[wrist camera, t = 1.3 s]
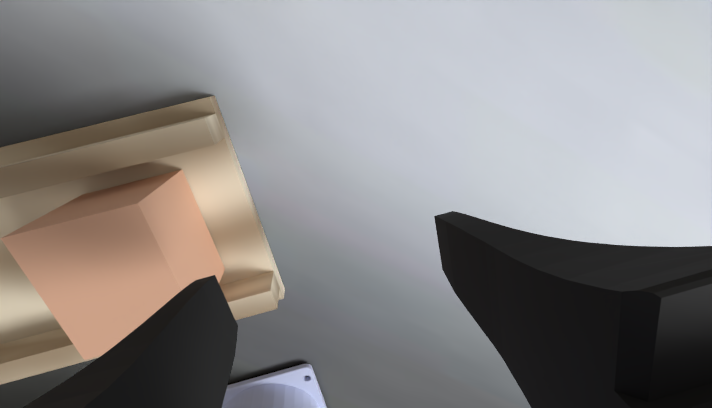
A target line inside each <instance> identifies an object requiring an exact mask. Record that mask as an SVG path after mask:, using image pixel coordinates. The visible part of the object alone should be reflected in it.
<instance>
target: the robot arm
mask: <svg viewBox="0 0 712 408" xmlns="http://www.w3.org/2000/svg"><path fill="white" fill-rule="evenodd" d="M434 217H435V223H436V230H437V236H438V243H439V249H440V256H441V262H442V269H443V271H444V273H445V275H446V277H447V279H448V281H449V282H450V284H451V286H452V288H453V290H454V291H455V293H456V295H457V296H458V298H459V299H460V300H461V302H462V303H463V304H464V306H465V307H466V309H467V310H468V311H469V313H470V314H471V315H472V317H473V318H474V319H475V321H476V322H477V323H478V325H479V326H480V327H481V329H482V330H483V332H484V333H485V334H486V336H487V337H488V338H489V340H490V341H491V342H492V344H493V345H494V346H495V348H496V349H497V351H498V352H499V354H500V355H501V357H502V358H503V360H504V361H505V363H506V365H507V366H508V368H509V370H510V371H511V373H512V375H513V377H514V378H515V380H516V382H517V383H518V385H519V387H520V388H521V390H522V392H523V394H524V395H525V397H526V399H527V401H528V402H529V404H530V406H531V408H712V246H700V247H647V246H623V245H610V244H599V243H588V242H580V241H572V240H566V239H560V238H554V237H548V236H543V235H538V234H533V233H529V232H525V231H521V230H517V229H513V228H509V227H505V226H502V225H499V224H495V223H492V222H489V221H485V220H482V219H479V218H476V217H472V216H469V215H466V214H462V213H458V212H453V211H452V212H448V213H445V214H441V215H437V216H434ZM237 329H238V325H237V323H236V321H235V318H234V316H233V314H232V312H231V309H230V307H229V305H228V303H227V300H226V298H225V296H224V294H223V292H222V289H221V287H220V285H219V283H218V280H217V278H216V276H215V275H213V276H209V277H206V278H202V279H198V280H195V281H194V282H192V283H191V284H189V285H188V286H187V287H185V288H184V289H183V290H181V291H180V292H179V293H178V294H177V295H175V296H174V297H173V298H172V299H171V300H169V301H168V302H167V303H166V304H165V305H164V306H162V307H161V308H160V309H159V310H158V311H157V312H155V313H154V314H153V315H152V316H151V317H149V318H148V319H147V320H146V321H145V322H144V323H142V324H141V325H140V326H139V327H137V328H136V329H135V330H134V331H132V332H131V333H130V334H129V335H127V336H126V337H125V338H124V339H122V340H121V341H120V342H119V343H117V344H116V345H115V346H114V347H112V348H111V349H110V350H108V351H107V352H106V353H105V354H103V355H102V356H100V357H99V358H98V359H96V360H95V361H94V362H92V363H91V364H89V365H88V366H86V367H85V368H84V369H82V370H81V371H79V372H78V373H76V374H75V375H74V376H72V377H71V378H69V379H68V380H66V381H65V382H63V383H62V384H60V385H58V386H57V387H55V388H54V389H52V390H50V391H49V392H47V393H46V394H44V395H42V396H41V397H39V398H38V399H36V400H34V401H33V402H31V403H30V404H28V405H26V406H25V407H23V408H327V407H326V404H325V401H324V398H323V396H322V393H321V390H320V387H319V385H318V382H317V379H316V376H315V374H314V371H313V368H312V366H311V365H309V364H301V365H298V366H294V367H291V368H287V369H284V370H280V371H277V372H273V373H269V374H266V375H262V376H259V377H255V378H252V379H248V380H245V381H241V382H238V383H234V384H230V385H228V381H229V377H230V373H231V369H232V365H233V361H234V356H235V349H236V341H237ZM305 376H309V377H305Z"/></svg>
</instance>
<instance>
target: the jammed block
mask: <svg viewBox="0 0 712 408" xmlns="http://www.w3.org/2000/svg"><path fill="white" fill-rule="evenodd" d="M0 239H1V240H2V241H3V243H4V244H5V246H6V247H7V249H8V250H9V252H10V253H11V255H12V256H13V257H14V259H15V260H16V262H17V263H18V265H19V266H20V268H21V269H22V270H23V272H24V273H25V275H26V276H27V278H28V279H29V281H30V282H31V284H32V285H33V286H34V288H35V289H36V291H37V292H38V294H39V295H40V297H41V298H42V300H43V301H44V302H45V304H46V305H47V307H48V308H49V310H50V311H51V313H52V314H53V316H54V317H55V318H56V320H57V321H58V323H59V324H60V326H61V327H62V329H63V330H64V331H65V333H66V334H67V336H68V337H69V339H70V340H71V342H72V343H73V345H74V346H75V347H76V349H77V350H78V352H79V353H80V355H81V356H82V358H83V359H84V360H88V359H91V358H95V357H99V356H102V355H103V354H105V353H106V352H107V351H108V350H110V349H111V348H112V347H114V346H115V345H116V344H117V343H119V342H120V341H121V340H122V339H124V338H125V337H126V336H127V335H129V334H130V333H131V332H132V331H134V330H135V329H136V328H137V327H139V326H140V325H141V324H142V323H144V322H145V321H146V320H147V319H148V318H149V317H151V316H152V315H153V314H154V313H155V312H157V311H158V310H159V309H160V308H161V307H162V306H164V305H165V304H166V303H167V302H168V301H169V300H171V299H172V298H173V297H174V296H175V295H177V294H178V293H179V292H180V291H181V290H183V289H184V288H185V287H187V286H188V285H189V284H191V283H192V282H194V281H195V280H198V279H202V278H206V277H209V276H213V275H215V276H216V278H217V280H218V283H219V282H220V280H221V277H222V275H223V273H224V270H225V268H224V265H223V263H222V261H221V258H220V256H219V254H218V251H217V249H216V247H215V244H214V242H213V240H212V237H211V235H210V233H209V230H208V228H207V226H206V223H205V221H204V219H203V216H202V214H201V212H200V209H199V207H198V205H197V202H196V200H195V198H194V195H193V193H192V191H191V188H190V186H189V184H188V181H187V179H186V177H185V174H184V172H183V170H178V171H174V172H170V173H166V174H162V175H158V176H154V177H150V178H146V179H142V180H138V181H134V182H130V183H126V184H122V185H118V186H114V187H110V188H106V189H102V190H98V191H94V192H90V193H86V194H83V195H81V196H79V197H77V198H75V199H73V200H71V201H69V202H68V203H66V204H64V205H62V206H60V207H58V208H56V209H54V210H53V211H51V212H49V213H47V214H45V215H43V216H41V217H39V218H38V219H36V220H34V221H32V222H30V223H28V224H26V225H24V226H23V227H21V228H19V229H17V230H15V231H13V232H11V233H9V234H8V235H6V236H4V237H2V238H0Z"/></svg>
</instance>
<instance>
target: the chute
mask: <svg viewBox="0 0 712 408" xmlns="http://www.w3.org/2000/svg"><path fill="white" fill-rule="evenodd" d="M178 170H183V172H184V174H185V177H186V179H187V181H188V184H189V186H190V188H191V191H192V193H193V195H194V198H195V200H196V202H197V205H198V207H199V209H200V212H201V214H202V216H203V219H204V221H205V223H206V226H207V228H208V230H209V233H210V235H211V237H212V240H213V242H214V244H215V247H216V249H217V251H218V254H219V256H220V258H221V261H222V263H223V265H224V268H225V270H224V273H223V275H222V277H221V280H220V282H219V285H220V287H221V289H222V292H223V294H224V296H225V298H226V300H227V303H228V305H229V307H230V309H231V312H232V314H233V316H234V318H235V320H238V319H242V318H245V317H249V316H253V315H256V314H260V313H263V312H267V311H271V310H274V309H277V307H278V300H280V299H284V292H285V288H284V286H283V283H282V280H281V277H280V275H279V272H278V269H277V266H276V264H275V261H274V258H273V255H272V252H271V250H270V247H269V244H268V241H267V239H266V236H265V233H264V230H263V228H262V225H261V222H260V219H259V217H258V214H257V211H256V208H255V206H254V203H253V200H252V197H251V195H250V192H249V189H248V186H247V184H246V181H245V178H244V175H243V173H242V170H241V167H240V164H239V162H238V159H237V156H236V153H235V151H234V148H233V145H232V142H231V139H230V137H229V134H228V131H227V128H226V126H225V123H224V120H223V117H222V115H221V112H220V109H219V106H218V104H217V101H216V98H215V96H210V97H206V98H202V99H198V100H194V101H190V102H186V103H181V104H177V105H173V106H169V107H165V108H161V109H157V110H153V111H148V112H144V113H140V114H136V115H132V116H128V117H124V118H120V119H115V120H111V121H107V122H103V123H99V124H95V125H91V126H87V127H82V128H78V129H74V130H70V131H66V132H62V133H58V134H54V135H50V136H45V137H41V138H37V139H33V140H29V141H25V142H21V143H17V144H12V145H8V146H4V147H0V238H2V237H4V236H6V235H8V234H9V233H11V232H13V231H15V230H17V229H19V228H21V227H23V226H24V225H26V224H28V223H30V222H32V221H34V220H36V219H38V218H39V217H41V216H43V215H45V214H47V213H49V212H51V211H53V210H54V209H56V208H58V207H60V206H62V205H64V204H66V203H68V202H69V201H71V200H73V199H75V198H77V197H79V196H81V195H83V194H86V193H90V192H94V191H98V190H102V189H106V188H110V187H114V186H118V185H122V184H126V183H130V182H134V181H138V180H142V179H146V178H150V177H154V176H158V175H162V174H166V173H170V172H174V171H178ZM99 357H100V356H99ZM99 357H95V358H91V359H88V360H92V359H96V358H99ZM88 360H84V359H83V358H82V356H81V355H80V353H79V352H78V350H77V349H76V347H75V346H74V345H73V343H72V342H71V340H70V339H69V337H68V336H67V334H66V333H65V331H64V330H63V329H62V327H61V326H60V324H59V323H58V321H57V320H56V318H55V317H54V316H53V314H52V313H51V311H50V310H49V308H48V307H47V305H46V304H45V302H44V301H43V300H42V298H41V297H40V295H39V294H38V292H37V291H36V289H35V288H34V286H33V285H32V284H31V282H30V281H29V279H28V278H27V276H26V275H25V273H24V272H23V270H22V269H21V268H20V266H19V265H18V263H17V262H16V260H15V259H14V257H13V256H12V255H11V253H10V252H9V250H8V249H7V247H6V246H5V244H4V243H3V241H2V240H1V239H0V385H1V384H4V383H8V382H12V381H15V380H19V379H23V378H26V377H30V376H34V375H37V374H41V373H44V372H48V371H52V370H55V369H59V368H63V367H66V366H70V365H74V364H77V363H81V362H85V361H88Z"/></svg>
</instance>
